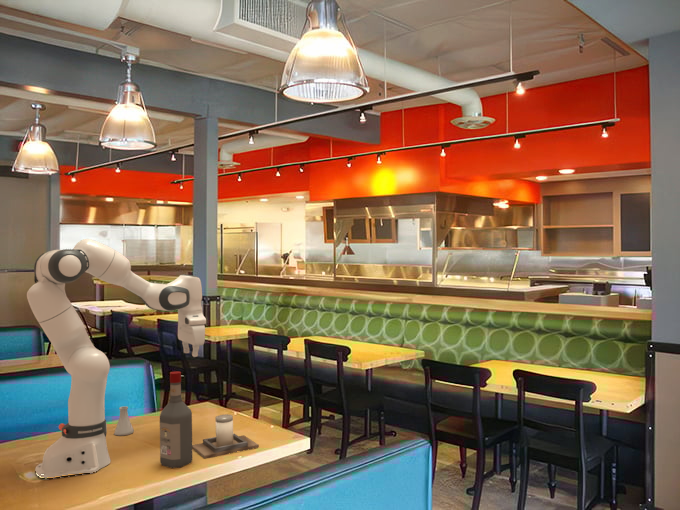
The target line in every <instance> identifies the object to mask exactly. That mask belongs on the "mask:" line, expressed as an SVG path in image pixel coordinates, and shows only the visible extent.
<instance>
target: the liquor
mask: <svg viewBox="0 0 680 510" xmlns="http://www.w3.org/2000/svg"><path fill="white" fill-rule="evenodd" d="M169 384H170V388H169V389H170V396H169V397H170V398H169V402H168V403H167V404H166V405H165V406H164V408H163V409H162V410H161V412H160V414H159V451H160V453H159V457H160V459H159V461H160V465H161V467H166V468H170V469H178V468H182V467H185V466H187V465H190V464H192V462H193V449H192V445H193V411H192V410H191V408H190V407H189V406H188V405H187V404H186V403H185V402H184V401H183V398H182V385H181V384H182V371H177V370H176V371H175V370H174V371H170V372H169Z"/></svg>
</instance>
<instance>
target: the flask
mask: <svg viewBox="0 0 680 510" xmlns="http://www.w3.org/2000/svg"><path fill="white" fill-rule="evenodd" d="M118 409H119V416H118V417H119V418H118V421H117V424H116V427H115V430H114V433H113V435H115V436H119V437H121V436H128V435H131V434H133V433H134V432H135V431H134V427H133V425H132V422H131V420H130V418H129V413H128V409H129V406H120V407H119V408H118Z"/></svg>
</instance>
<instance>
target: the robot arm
mask: <svg viewBox="0 0 680 510" xmlns="http://www.w3.org/2000/svg"><path fill="white" fill-rule="evenodd" d="M131 269H132V264H131V261H130V260H129V259H128V258H127V257H126V256H125V255H124V254H122V253H120V252H119V251H118V250H116V249H114V248H112V247H110V246H108V245H106V244H104V243H102V242H100V241H96V240H94V239H90V238H84V239H81V240H80V241H79V242H76V244H75V245H74V246H73V249H71V248H68V249H67V248H66V249H53V250H49V251H46V252H44V253H42V254H40V255H39V256H38V257H37V258H36V260H35V262H34V265H33V271H34V279H33V280H34V284H33V285H31V287H30V288H29V289H28V290H27V292H26V298H27V301H28V304H29V307H30V309H31V312H32V313H33V315H34V318H35V319H36V321H37V323H38V324H39V325H40V327H41V328H42V330H43V332H44V334H45V335H46V337H47V338H48V340H49V342H50V343H51V345H52V346H53V349H54V351H55V353H56V355H57V357H58V358H59V361H60V362H61V364H62V365H63V367H64V369H65V370H66V372H67V373H68V374H69V375H70V376H71V384H70V391H69V396H68V400H67V407H68V408H67V412H68V417H67V420H68V422H67V423H66V424H65V423H60V424H59V425H58V429H59V430H60V431H61V437H59V438H58V439H57V440H56V441H54V442H53V443H52V444H51V445H49V446H48V447H47V448H46V450H45V451H44V454H43V457H42V462H41V463H38V464H37V465H36V466H35V469H34V472H35V471H36V473H37V474H38V475H39V476H41V477H44V478H47V477H55V476H62V475H68V474H79V473H90V474H94V473H93V472H95V473H96V471H97V472H98V471H99V470H100V469H103V468H105V467H106V466H108V465H109V464H110V463H111V461H112V460H111V457H110V454H109V449H108V446H107V445H108V443H107V433H108V432H107V431H108V430H107V429H108V427H107V426H108V423H107V419H106V418H105V416H106V415H105V414H106V411H105V410H106V409H105V408H106V407H105V406H106V405H105V403H106V402H105V400H106V398H105V396H106V395H105V394H106V388H107V381H108V374H109V373H110V369H111V366H110V365H111V364H110V361H109V358H108V357H107V355H106V354H105V353H104V352H103V351H101V350H99V349H98V348H96V347H95V346H94V344H93V342H92V341H91V338H90V336H89V334H88V332H87V330H86V327H85V324H84V323H83V321H82V318H80V315H79V314H78V312H77V311H76V309H75V307H74V305H73V304H72V303H71V301H70V299H69V298H68V296H67V293H66V284H71V283H73V282H75V281H77V280H78V279H79V278H81V276H83V275H84V274H85V273H87V274H90V275H91V276H93V277H95V278H96V279H98V280H100V281H103V282H105V283H108V284H111V285H115V286H119V287H122V288H124V289H125V290H127V291H129V292H130V293H133V294H134V295H135V296H138V297H139V299H141V301H142V302H143V304H144V305H145V306H146V307H147V308H149V309H150V310H152V311H153V310H154V311H155V310H157V311H158V310H159V311H166V312H173V311H177V339H178V340H179V341H181V342H182V343H181V344H182V347H183V354H190V347H189V345H192V351H191V355H192V357H193V358H197V357H198V356H199V351H200V346H203V345H204V344H205V341H206V337H205V336H206V326H205V325H207V319H206V317H205V316H204V313H203V307H202V300H203V289H202V288H203V287H202V286H203V285H202V281H201V279H200V277H198V276H196V275H193V274H184V273H183V274H180V275H179V276H178V277H176V279H174V280H172V281H171V282H168V283H159V282H150V281H147V280H146V279H144V278H143V277H141V276H139V275H138V274H136V273H134V272H133V271H132V270H131ZM41 474H44V475H41Z"/></svg>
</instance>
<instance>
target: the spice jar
mask: <svg viewBox="0 0 680 510" xmlns="http://www.w3.org/2000/svg"><path fill="white" fill-rule="evenodd" d="M233 434H234V419H233V415H232V414H220V415H216V416H215V437H216V446H217V447H221V446H226V445H231V444H234V442H233Z"/></svg>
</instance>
